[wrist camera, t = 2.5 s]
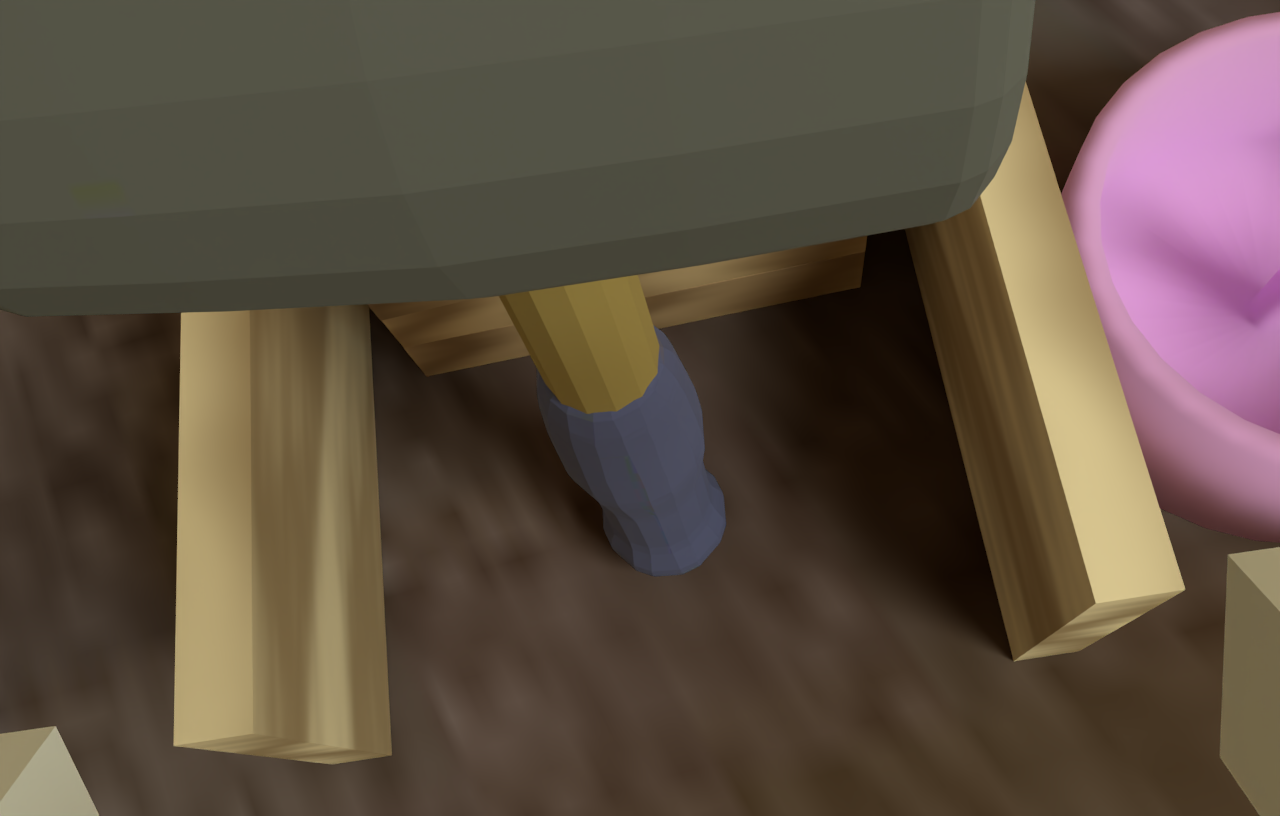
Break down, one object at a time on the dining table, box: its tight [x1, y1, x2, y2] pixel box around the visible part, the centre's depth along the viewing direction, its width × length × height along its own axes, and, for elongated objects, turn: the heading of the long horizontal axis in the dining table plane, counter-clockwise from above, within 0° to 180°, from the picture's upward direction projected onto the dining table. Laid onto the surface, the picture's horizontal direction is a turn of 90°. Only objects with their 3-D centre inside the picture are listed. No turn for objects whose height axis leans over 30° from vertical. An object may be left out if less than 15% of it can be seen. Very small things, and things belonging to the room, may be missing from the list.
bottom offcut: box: [403, 251, 865, 376], centre depth 40 cm, size 16×5×3 cm, turn 100°
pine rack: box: [174, 82, 1185, 764], centre depth 35 cm, size 24×22×10 cm
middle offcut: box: [382, 236, 867, 348], centre depth 37 cm, size 16×5×3 cm, turn 100°
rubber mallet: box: [0, 0, 1035, 576], centre depth 23 cm, size 12×8×30 cm, turn 93°
